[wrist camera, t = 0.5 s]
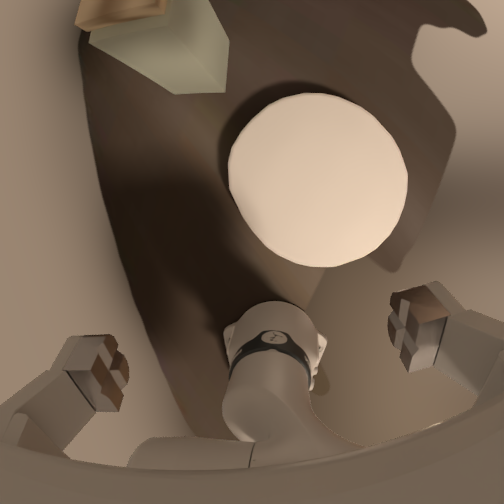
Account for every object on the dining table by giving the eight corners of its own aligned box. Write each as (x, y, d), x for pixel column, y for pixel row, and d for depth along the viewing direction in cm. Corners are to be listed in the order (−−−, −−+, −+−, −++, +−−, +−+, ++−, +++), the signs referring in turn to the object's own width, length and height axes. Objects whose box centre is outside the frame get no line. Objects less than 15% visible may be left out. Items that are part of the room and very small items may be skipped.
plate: (440, 168, 41) (344, 303, 48) (421, 165, 48) (336, 287, 55) (292, 54, 38) (191, 205, 45) (289, 66, 44) (200, 199, 51)
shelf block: (225, 92, 47) (167, 26, 22) (174, 94, 48) (88, 43, 23) (229, 41, 45) (182, -46, 20) (179, 44, 46) (107, -28, 21)
